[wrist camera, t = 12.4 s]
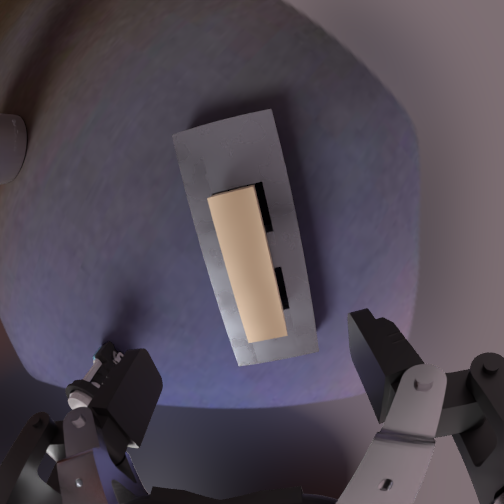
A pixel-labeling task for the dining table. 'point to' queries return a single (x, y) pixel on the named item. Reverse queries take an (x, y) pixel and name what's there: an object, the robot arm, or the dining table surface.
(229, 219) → the wooden peg block
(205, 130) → the grey block with holes
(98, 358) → the push button
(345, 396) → the dining table surface
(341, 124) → the dining table surface
